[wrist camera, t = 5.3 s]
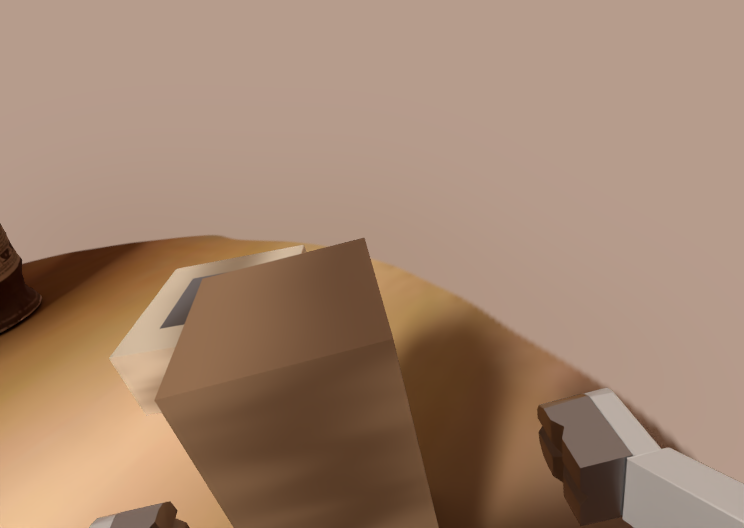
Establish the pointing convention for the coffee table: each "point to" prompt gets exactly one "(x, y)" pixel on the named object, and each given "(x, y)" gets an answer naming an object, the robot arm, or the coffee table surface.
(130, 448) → the coffee table surface
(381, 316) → the walnut pillar
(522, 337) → the coffee table surface
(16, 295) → the coffee cup
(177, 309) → the birch plinth
